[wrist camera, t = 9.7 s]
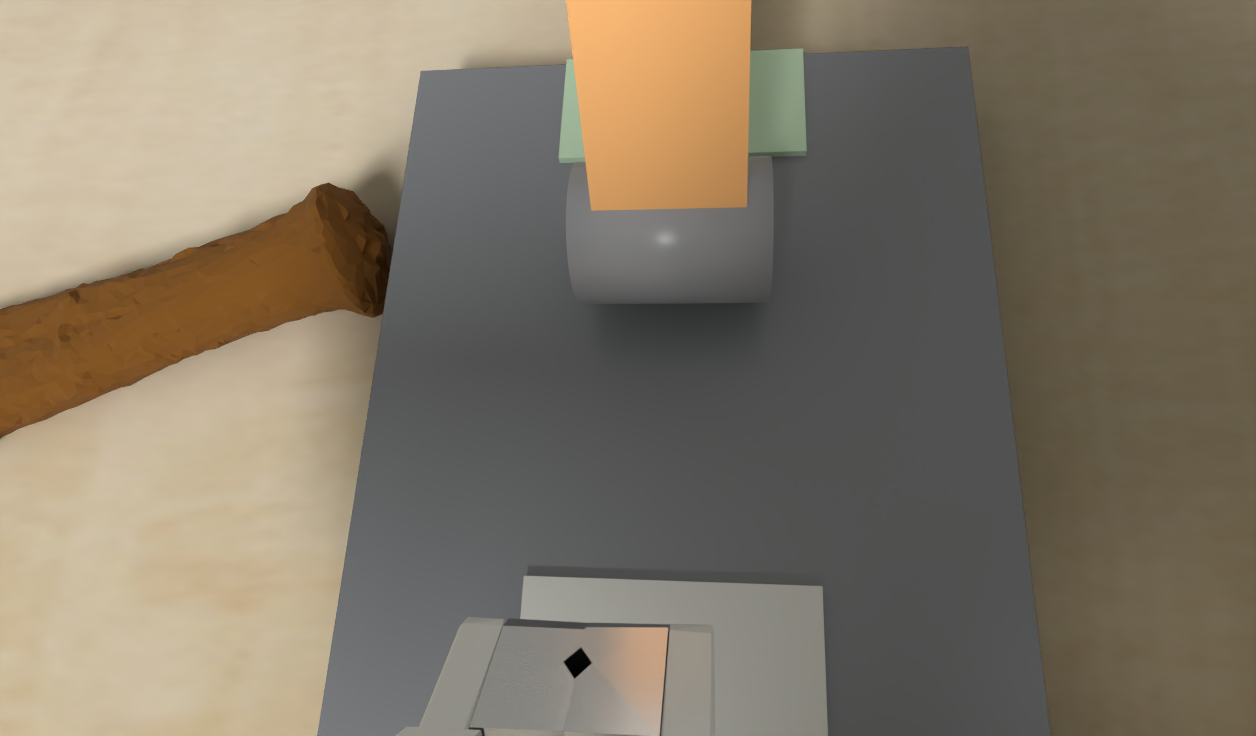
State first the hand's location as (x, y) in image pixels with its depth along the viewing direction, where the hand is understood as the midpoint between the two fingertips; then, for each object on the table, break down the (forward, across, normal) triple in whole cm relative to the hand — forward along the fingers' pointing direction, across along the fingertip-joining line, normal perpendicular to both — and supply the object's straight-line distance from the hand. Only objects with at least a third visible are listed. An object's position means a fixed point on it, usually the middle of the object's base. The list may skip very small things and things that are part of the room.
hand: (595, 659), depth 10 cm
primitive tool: (+11, +17, +2) cm, 20 cm away
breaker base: (+8, -1, +4) cm, 9 cm away
